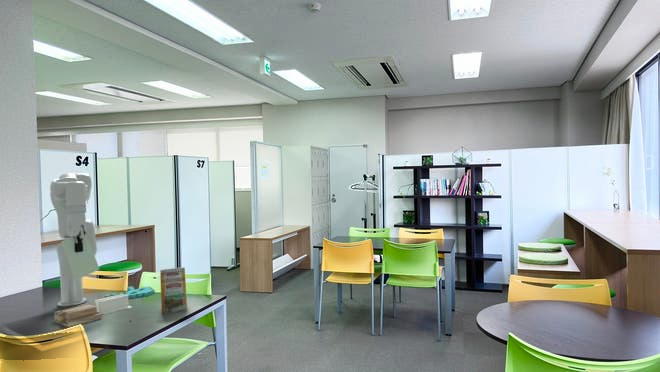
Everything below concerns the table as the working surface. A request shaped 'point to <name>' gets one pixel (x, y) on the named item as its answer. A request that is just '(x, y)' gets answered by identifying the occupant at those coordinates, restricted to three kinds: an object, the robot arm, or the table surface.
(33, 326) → the table surface
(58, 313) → the rack
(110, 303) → the stand
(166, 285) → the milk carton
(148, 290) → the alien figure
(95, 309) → the offcut upper
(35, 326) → the table surface
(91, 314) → the offcut lower
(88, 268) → the sheet
